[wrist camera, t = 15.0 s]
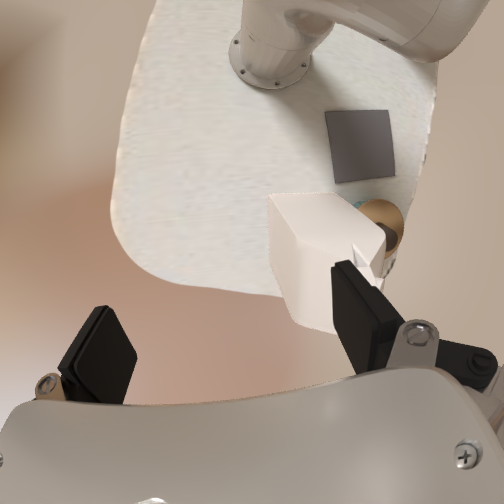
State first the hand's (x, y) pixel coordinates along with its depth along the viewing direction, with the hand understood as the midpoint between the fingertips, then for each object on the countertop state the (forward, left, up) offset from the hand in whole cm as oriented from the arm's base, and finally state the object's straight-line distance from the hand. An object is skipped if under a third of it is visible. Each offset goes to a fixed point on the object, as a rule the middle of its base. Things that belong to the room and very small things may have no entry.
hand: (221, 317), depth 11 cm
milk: (+10, +10, -34) cm, 37 cm away
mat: (-3, +23, -34) cm, 41 cm away
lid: (+11, +22, -30) cm, 39 cm away
